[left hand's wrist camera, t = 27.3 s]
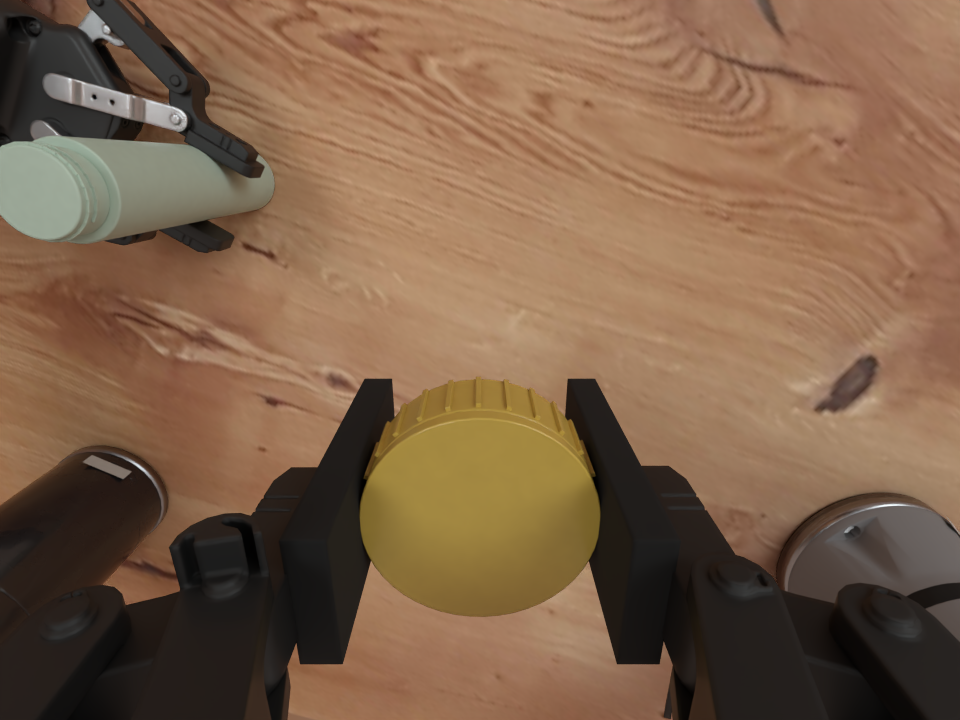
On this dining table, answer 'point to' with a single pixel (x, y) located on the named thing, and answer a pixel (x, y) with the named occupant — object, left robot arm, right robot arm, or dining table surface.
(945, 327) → the dining table surface
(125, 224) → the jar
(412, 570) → the lid
